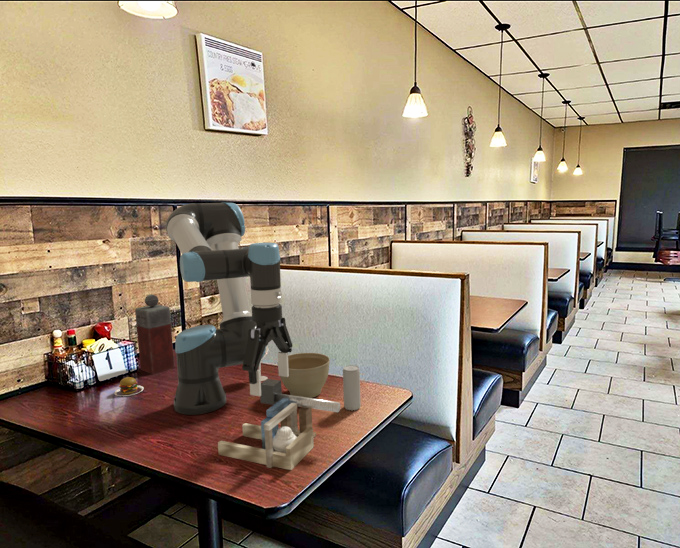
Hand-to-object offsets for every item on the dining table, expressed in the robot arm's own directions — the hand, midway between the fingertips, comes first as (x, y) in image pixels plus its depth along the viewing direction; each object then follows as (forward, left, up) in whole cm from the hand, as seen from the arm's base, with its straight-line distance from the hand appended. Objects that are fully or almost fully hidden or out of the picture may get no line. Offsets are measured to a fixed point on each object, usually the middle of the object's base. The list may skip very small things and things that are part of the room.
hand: (270, 385), depth 125 cm
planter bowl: (-4, +26, -13) cm, 29 cm away
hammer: (+9, -5, -12) cm, 16 cm away
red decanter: (-69, +30, -13) cm, 76 cm away
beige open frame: (+4, -9, -13) cm, 16 cm away
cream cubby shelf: (+7, 0, -13) cm, 14 cm away
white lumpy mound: (+9, -9, -13) cm, 18 cm away
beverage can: (+14, +21, -13) cm, 28 cm away
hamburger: (-60, +8, -13) cm, 62 cm away
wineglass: (-25, +33, -13) cm, 43 cm away
